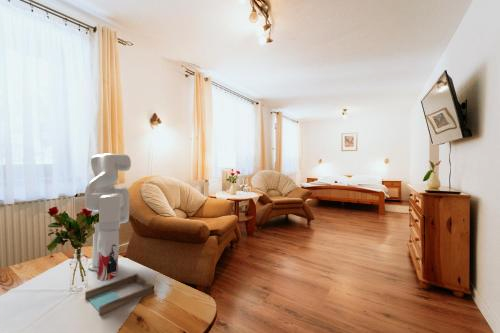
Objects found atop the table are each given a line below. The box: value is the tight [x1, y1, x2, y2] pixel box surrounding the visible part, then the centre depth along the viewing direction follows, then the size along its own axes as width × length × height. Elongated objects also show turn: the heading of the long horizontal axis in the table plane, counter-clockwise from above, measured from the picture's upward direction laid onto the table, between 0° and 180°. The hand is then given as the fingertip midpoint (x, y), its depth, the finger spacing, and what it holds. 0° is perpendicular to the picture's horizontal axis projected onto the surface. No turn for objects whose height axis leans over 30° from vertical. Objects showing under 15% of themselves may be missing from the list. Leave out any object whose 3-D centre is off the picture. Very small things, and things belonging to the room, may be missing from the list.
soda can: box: [96, 252, 119, 282], centre depth 93 cm, size 7×7×12 cm
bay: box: [84, 273, 155, 317], centre depth 97 cm, size 16×21×3 cm
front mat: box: [87, 290, 121, 313], centre depth 93 cm, size 13×9×1 cm
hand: (107, 268), depth 93 cm, fingers closed on soda can, 6 cm apart
